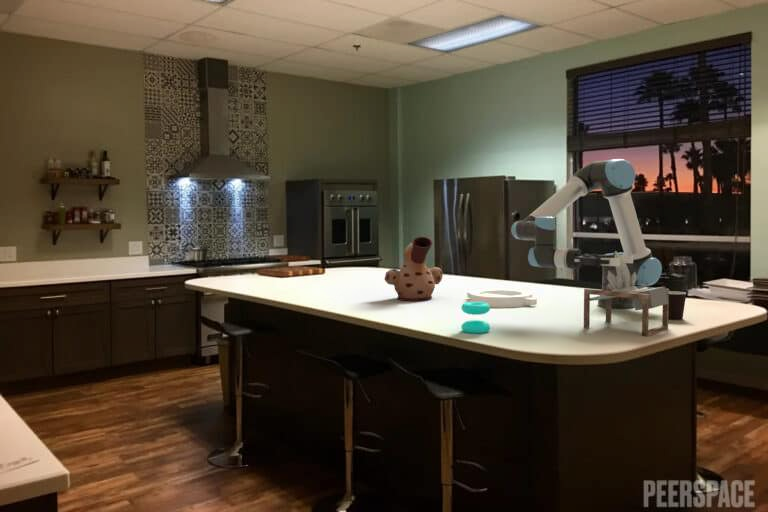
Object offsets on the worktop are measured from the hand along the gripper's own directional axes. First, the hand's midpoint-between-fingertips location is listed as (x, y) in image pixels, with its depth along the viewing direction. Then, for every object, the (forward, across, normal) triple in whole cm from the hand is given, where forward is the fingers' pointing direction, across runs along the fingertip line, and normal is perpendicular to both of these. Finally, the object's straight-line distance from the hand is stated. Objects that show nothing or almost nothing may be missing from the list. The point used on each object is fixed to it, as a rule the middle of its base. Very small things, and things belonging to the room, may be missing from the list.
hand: (626, 261), depth 230 cm
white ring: (-66, -30, -25) cm, 77 cm away
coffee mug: (+8, -31, -24) cm, 40 cm away
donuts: (-40, +36, -24) cm, 59 cm away
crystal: (-1, -1, -11) cm, 12 cm away
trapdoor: (+2, 0, -17) cm, 17 cm away
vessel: (-104, -16, -24) cm, 108 cm away
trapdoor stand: (-1, 0, -24) cm, 24 cm away
